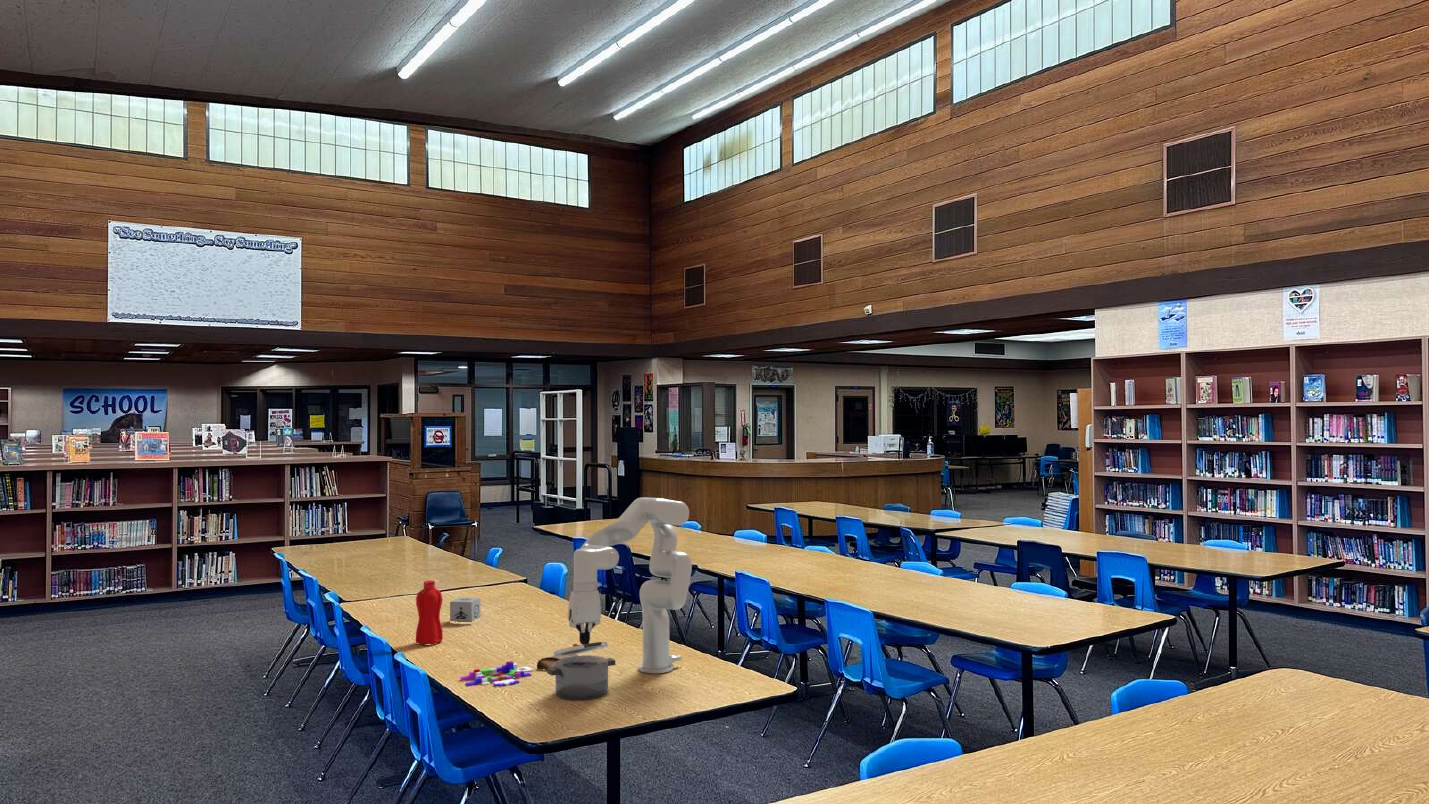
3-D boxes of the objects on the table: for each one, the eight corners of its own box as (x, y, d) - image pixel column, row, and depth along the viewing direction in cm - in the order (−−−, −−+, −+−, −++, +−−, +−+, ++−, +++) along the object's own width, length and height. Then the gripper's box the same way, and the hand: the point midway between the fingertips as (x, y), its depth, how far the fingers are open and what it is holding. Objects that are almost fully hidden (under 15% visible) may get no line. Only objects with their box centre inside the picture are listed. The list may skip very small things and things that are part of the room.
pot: (600, 680, 308) (600, 651, 308) (624, 693, 293) (624, 662, 294) (538, 691, 296) (538, 661, 296) (560, 705, 281) (560, 673, 281)
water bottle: (409, 645, 360) (409, 582, 360) (427, 639, 370) (427, 578, 370) (427, 647, 356) (427, 584, 357) (446, 641, 366) (446, 579, 367)
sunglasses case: (552, 672, 318) (546, 654, 321) (541, 680, 322) (534, 662, 324) (588, 661, 333) (582, 644, 335) (577, 669, 336) (570, 652, 339)
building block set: (474, 693, 297) (474, 679, 297) (456, 678, 314) (456, 665, 314) (545, 681, 310) (545, 667, 310) (524, 667, 328) (524, 655, 328)
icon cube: (459, 619, 408) (459, 597, 409) (480, 620, 407) (480, 597, 407) (450, 624, 398) (450, 601, 399) (471, 624, 397) (471, 602, 397)
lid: (594, 651, 307) (593, 642, 308) (619, 642, 291) (618, 633, 292) (546, 658, 297) (544, 650, 298) (569, 650, 282) (567, 641, 283)
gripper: (600, 583, 300) (600, 639, 299) (559, 587, 292) (558, 644, 291) (611, 586, 293) (610, 643, 293) (568, 590, 285) (568, 649, 284)
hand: (584, 644), depth 292 cm, fingers closed
